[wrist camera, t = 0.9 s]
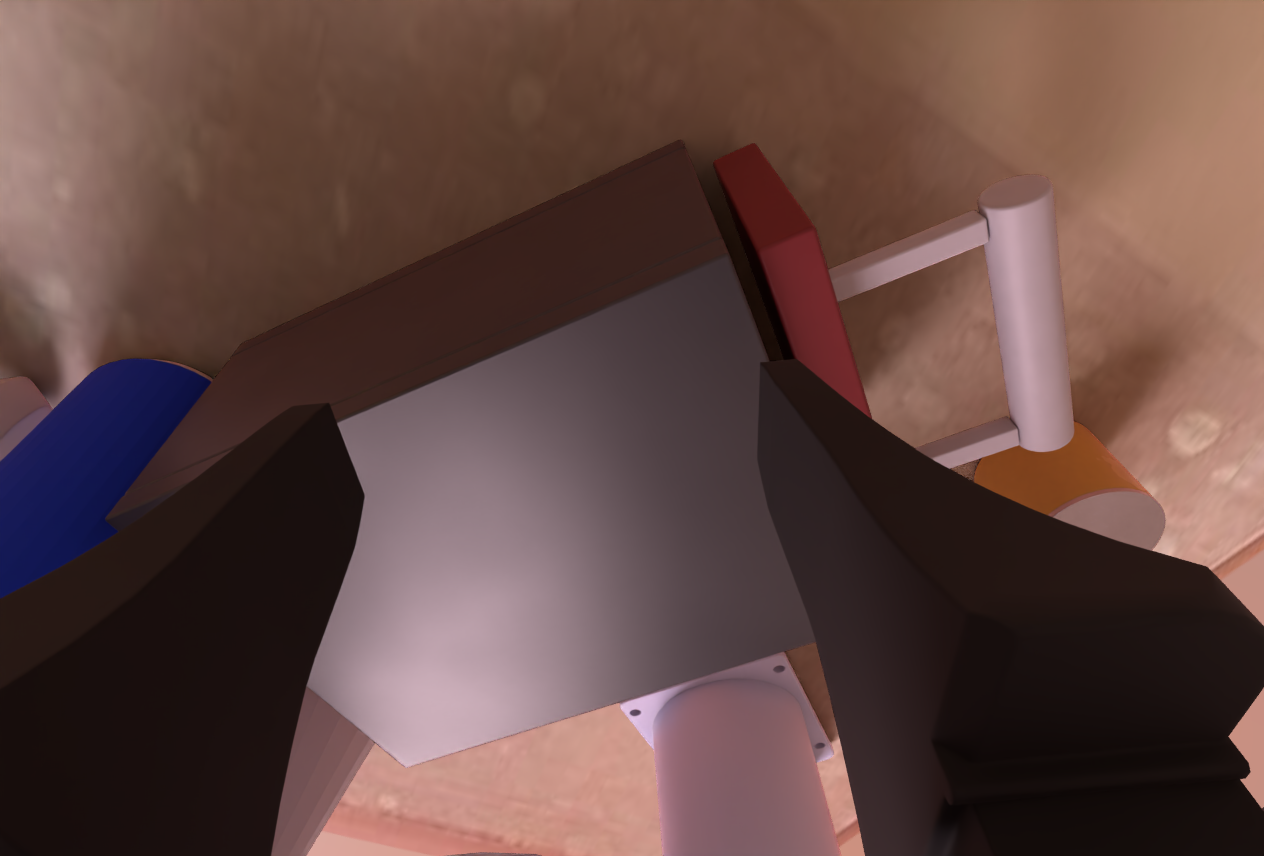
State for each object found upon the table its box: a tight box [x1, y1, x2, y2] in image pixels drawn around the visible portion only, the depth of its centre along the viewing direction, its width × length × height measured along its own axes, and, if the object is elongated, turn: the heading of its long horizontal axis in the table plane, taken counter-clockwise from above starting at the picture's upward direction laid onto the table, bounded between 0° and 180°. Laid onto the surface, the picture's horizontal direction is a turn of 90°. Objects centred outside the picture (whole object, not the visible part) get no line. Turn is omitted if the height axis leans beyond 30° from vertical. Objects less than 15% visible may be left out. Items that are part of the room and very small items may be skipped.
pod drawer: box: [713, 143, 1074, 469], centre depth 20 cm, size 18×10×6 cm, turn 114°
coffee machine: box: [105, 140, 816, 768], centre depth 21 cm, size 15×12×8 cm
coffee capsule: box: [974, 421, 1166, 551], centre depth 25 cm, size 4×4×4 cm
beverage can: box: [0, 359, 214, 598], centre depth 18 cm, size 5×5×15 cm
